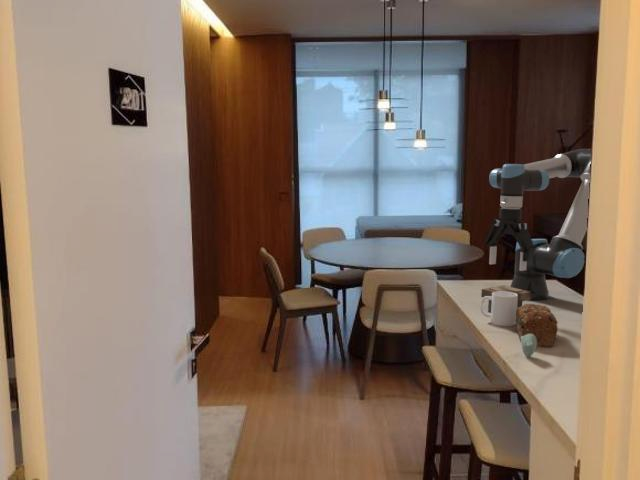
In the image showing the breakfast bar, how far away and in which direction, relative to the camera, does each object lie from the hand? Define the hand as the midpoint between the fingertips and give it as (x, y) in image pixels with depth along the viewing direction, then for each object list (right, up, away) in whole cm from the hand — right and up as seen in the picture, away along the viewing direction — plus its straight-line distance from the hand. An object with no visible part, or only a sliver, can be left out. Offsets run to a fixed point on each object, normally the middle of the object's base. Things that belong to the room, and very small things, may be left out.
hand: (507, 267), depth 217 cm
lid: (0, -11, +2) cm, 12 cm away
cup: (-7, -19, -11) cm, 23 cm away
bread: (0, -21, -28) cm, 35 cm away
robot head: (-8, -24, -45) cm, 52 cm away
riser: (0, -16, +2) cm, 17 cm away
